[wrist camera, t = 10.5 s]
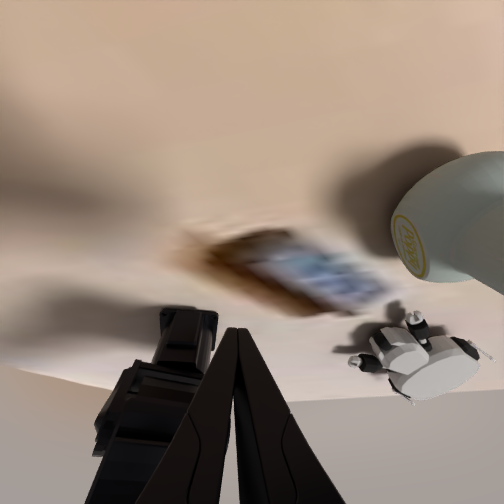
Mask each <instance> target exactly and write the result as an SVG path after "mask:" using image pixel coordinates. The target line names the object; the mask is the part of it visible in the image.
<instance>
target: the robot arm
mask: <svg viewBox="0 0 504 504" xmlns="http://www.w3.org/2000/svg"><path fill="white" fill-rule="evenodd" d="M165 313H166V314H165ZM213 316H214V317H213ZM218 317H219V315H218V313H216V312H204V311H191V310H177V309H162V310H161V311H160V329H161V339H160V341H159V344H158V346H157V349H156V352H155V354H154V357H153V359H152V362H151V363H147V362H142V360H137V359H136V360H135V362H134V364H133V366H132V367H129V368H128V369H125V370H123V372H122V374H121V376H120V378H119V380H118V382H117V384H116V386H115V388H114V390H113V392H112V394H111V395H110V397H109V398H108V400H107V401H106V403H105V405H104V406H103V408H102V409H101V411H100V413H99V414H98V416H97V418H96V420H95V423H94V426H95V429H96V432H97V436H96V439H95V442H97V443H96V445H95V448H94V451H93V454H92V456H96V457H101V456H103V459H102V461H101V463H100V466H99V468H98V471H97V473H96V476H95V479H94V481H93V483H92V486H91V489H90V491H89V493H88V496H87V498H86V501H85V504H219V499H220V491H221V484H222V476H223V468H224V461H225V455H226V452H227V448H228V443H229V437H230V428H231V419H230V416H231V408H232V401H233V399H234V415H235V433H236V448H237V465H238V482H239V500H240V504H346V503H345V501H344V500H343V498H342V497H341V495H340V494H339V492H338V490H337V489H336V487H335V486H334V484H333V483H332V481H331V480H330V478H329V476H328V475H327V473H326V472H325V470H324V469H323V467H322V466H321V464H320V462H319V461H318V459H317V457H316V456H315V454H314V453H313V451H312V449H311V448H310V446H309V444H308V442H307V441H306V439H305V437H304V435H303V433H302V432H301V430H300V428H299V426H298V425H297V423H296V421H295V419H294V417H293V415H292V414H290V409H289V407H288V405H287V404H286V401H285V400H284V398H283V396H282V394H281V392H280V390H279V388H278V386H277V384H276V382H275V380H274V378H273V377H272V375H271V373H270V371H269V369H268V367H267V365H266V363H265V361H264V359H263V357H262V355H261V354H260V352H259V350H258V348H257V346H256V344H255V342H254V340H253V338H252V336H251V334H250V332H249V331H248V329H246V328H238V329H237V328H232V327H228V328H227V329H226V331H225V334H224V336H223V338H222V340H221V342H220V344H219V346H218V348H217V350H216V352H215V354H214V356H213V358H212V360H211V362H210V355H211V351H214V349H215V341H216V333H217V325H218ZM209 363H210V364H209Z"/></svg>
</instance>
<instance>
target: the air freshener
mask: <svg viewBox="0 0 504 504" xmlns="http://www.w3.org/2000/svg"><path fill="white" fill-rule="evenodd" d="M391 234H392V238H393V242H394V245H395V248H396V250H397V253H398V255H399V257H400V259H401V260H402V262H403V264H404V265H405V267H406V268H407V269H408V271H409V272H410V273H411V274H412V275H414V276H415V277H416V278H418V279H421V280H425V281H428V282H436V283H454V282H461V281H467V280H471V279H474V278H475V279H476V280H478V281H480V282H482V283H483V284H485V285H487V286H489V287H490V288H492V289H494V290H495V291H497V292H499V293H501V294H502V295H504V152H503V151H493V152H481V153H476V154H471V155H467V156H464V157H461V158H458V159H455V160H452V161H450V162H448V163H446V164H444V165H442V166H440V167H438V168H436V169H435V170H433V171H432V172H430V173H429V174H427V175H426V176H424V177H423V178H422V179H421V180H420V181H418V182H417V183H416V184H415V185H414V186H413V187H412V188H411V189H410V190H409V191H408V192H407V193H406V194H405V196H404V197H403V198H402V200H401V201H400V202H399V204H398V206H397V208H396V209H395V211H394V213H393V216H392V218H391Z"/></svg>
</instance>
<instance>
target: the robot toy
mask: <svg viewBox="0 0 504 504" xmlns="http://www.w3.org/2000/svg"><path fill="white" fill-rule="evenodd" d="M405 321H406V324H407V326H408V329H409V331H410V333H411V334H410V333H409V332H408V331H407V330H405V329H402V328H396V327H393V328H389V327H385V328H383V329H380V330H381V332H382V333H381V332H378V333H376V334H375V335H374V336H373V338H372V336H371V338H370V339H369V342H370V343H371V345H372V349H373V351H374V352H375V354H376V356H377V357H378V358H376V357H375V356H373V355H369V354H359V355H358V356H351V357H350V358H349V360H348V365H349V366H350V367H353V368H356V367H359V368H360V370H361V371H362V372H371V373H374V372H376V371H378V370H380V369H381V368H386V369H387V373H388V375H389V379H388V380H389V382H390V384H391V386H392V390H393V392H395V393H396V394H397V393H398V394H399V395H400V396H402V397H403V398H404V399H406V400H407V401H409V402H410V403H411V404H412V405H413V406H415V403H414V402H413V401H411V400H409V399H408V398H414V399H416V400H425V399H431V398H434V397H437V396H440V395H442V394H444V393H447V392H449V391H451V390H453V389H456V388H457V387H459V386H460V385H462V384H463V383H465V382H466V381H468V380H469V379H470V378H471V377H473V376H474V375H475V374H476V373H477V372H478V369H479V367H480V364H479V362H478V359H479V358H480V357H479V354H478V352H477V349H478V350H479V351H481V352H482V353H483V354H485V355H486V356H487V357H489V358H490V359H491V360H492V361H493V362H496V360H495V359H494V358H492V357H491V356H489V355H488V354H486V353H485V352H484V351H482V350H481V349H480V348H478V347H477V346H476V345H475V344H474V343H473V342H472V341H470V340H468V341H465V340H464V339H459V338H456V337H450V338H449V337H447V336H445V335H442V336H434V337H430V338H428V339H427V337H428V336H429V335H430V334H431V333H430V330H429V327H428V324H427V323H426V321H425V319H424V316H423V314H422V313H421V312H419V311H414V315H412V314H411V313H409V314H407V315H406V320H405ZM412 335H413V336H414V337H415V338H416V339H415V338H414V337H413V336H412ZM474 347H475V348H477V349H475V348H474ZM405 396H406V397H405ZM407 397H408V398H407Z"/></svg>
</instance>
